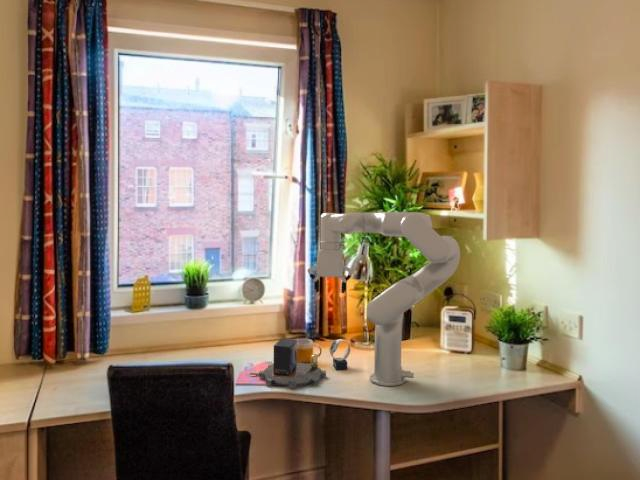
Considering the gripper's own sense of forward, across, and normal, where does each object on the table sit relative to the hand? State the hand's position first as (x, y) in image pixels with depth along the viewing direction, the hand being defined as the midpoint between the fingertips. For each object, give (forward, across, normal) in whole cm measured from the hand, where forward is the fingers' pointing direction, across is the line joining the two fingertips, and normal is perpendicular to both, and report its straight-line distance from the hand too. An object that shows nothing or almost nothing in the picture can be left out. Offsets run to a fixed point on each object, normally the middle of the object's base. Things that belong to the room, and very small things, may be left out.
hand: (330, 292), depth 207 cm
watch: (+31, -3, -5) cm, 31 cm away
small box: (+28, +15, +10) cm, 33 cm away
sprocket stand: (+30, +17, +10) cm, 36 cm away
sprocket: (+30, +12, +10) cm, 34 cm away
